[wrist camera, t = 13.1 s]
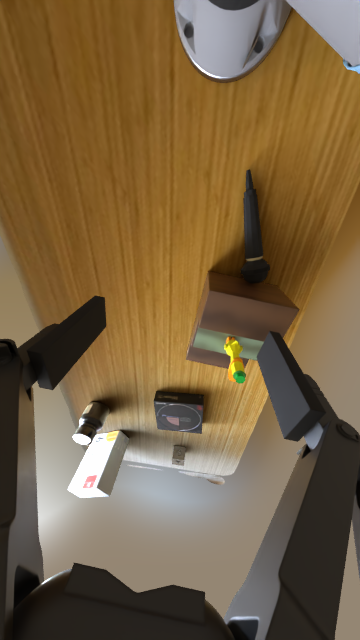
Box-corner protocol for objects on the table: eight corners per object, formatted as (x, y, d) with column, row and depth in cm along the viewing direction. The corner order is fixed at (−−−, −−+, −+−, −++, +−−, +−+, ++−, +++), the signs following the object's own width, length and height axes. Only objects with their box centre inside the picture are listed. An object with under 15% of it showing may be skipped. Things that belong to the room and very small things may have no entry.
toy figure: (235, 353, 43) (244, 398, 33) (219, 351, 44) (224, 395, 33) (241, 329, 40) (255, 370, 30) (224, 327, 40) (232, 368, 30)
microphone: (235, 179, 36) (244, 281, 43) (229, 172, 32) (240, 288, 39) (266, 167, 34) (270, 278, 41) (264, 159, 29) (269, 285, 36)
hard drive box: (119, 429, 81) (97, 487, 64) (130, 438, 84) (111, 496, 67) (94, 435, 86) (66, 490, 69) (104, 443, 89) (81, 499, 72)
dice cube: (185, 447, 83) (184, 460, 78) (184, 452, 85) (183, 465, 81) (174, 445, 83) (172, 458, 79) (173, 451, 86) (172, 463, 81)
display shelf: (208, 270, 43) (209, 290, 32) (276, 285, 43) (299, 309, 32) (187, 350, 55) (183, 382, 45) (240, 361, 55) (248, 396, 45)
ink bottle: (87, 398, 72) (68, 429, 62) (110, 403, 72) (94, 435, 62) (89, 413, 77) (71, 444, 67) (110, 417, 77) (95, 449, 67)
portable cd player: (159, 420, 74) (157, 430, 71) (156, 391, 66) (153, 401, 62) (201, 424, 73) (201, 434, 69) (203, 394, 64) (203, 405, 61)
